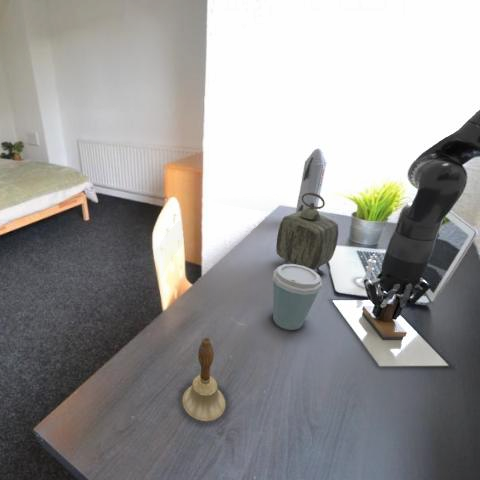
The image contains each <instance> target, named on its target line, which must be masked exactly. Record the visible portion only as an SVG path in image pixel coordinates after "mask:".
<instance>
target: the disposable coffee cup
mask: <svg viewBox="0 0 480 480" xmlns="http://www.w3.org/2000/svg"><path fill="white" fill-rule="evenodd" d="M272 280H273V296H272V297H273V298H272V299H273V300H272V301H273V303H272V304H273V305H272V307H273V308H272V320H273V321H274V323H275V324H276V325H277V326H278V327H280V328H281V329H283V330H288V331H294V330H295V331H296V330H299V329H300V328H301V327H303V325H304V323H305V320H306V318H307V316H308V314H309V312H310V310H311V308H312V307H313V304H314V302H315V300H316V298H317V296H318V294H319V292H320V291H321V290H323V281H322V278H321V275H318V274H317V272H316V271H315V269H314V270H312V269H310V268H307V267H305V266H301V265H296V264H293V263H284V264H282V265H279V266H278V267H276V268H275V269H274V271H273V273H272Z"/></svg>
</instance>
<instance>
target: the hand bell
mask: <svg viewBox="0 0 480 480" xmlns="http://www.w3.org/2000/svg"><path fill="white" fill-rule="evenodd" d="M197 352H198V353H197V355H198V356H197V357H198V363H199V365H200V374H198V375H197V376H195V377H194V379H193V381H192V385H191V386H189V387H188V388H187V389H186V390H185V391H184V393H183V395H182V406H183V408H184V410H185V412H186V413H187V415H189V416H191V417H192V418H193V419H195V420H198V421H201V422H211V421H214V420H217V419H218V418H220V417H221V416H222V415H223V413H224V411H225V409H226V398H225V396H224V394H223V393H222V392H221V390H219V388H218V383H217V381H216V380H215V379H216V378H214V377H213V376H212V375H211V366H212V364H213V361H214V356H215V353H214V352H215V351H214V347H213V345H212V342H211V338H208V337H203V338H202V341H201V343H200V345H199V348H198V351H197Z"/></svg>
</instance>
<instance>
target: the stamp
mask: <svg viewBox="0 0 480 480" xmlns="http://www.w3.org/2000/svg"><path fill="white" fill-rule="evenodd" d="M396 306H397V301H396V300H394V298H392V300H389V301H388V303H387V305H386V306H385V307H386V309H385V311H384V314H383V317H382V319H381V320H378V319H377V318H376V317H375V316H374V315H373V313H372V311H373V308H374V306H363V308H362V311H363V312H362V315H363V316H364V318H365V319H366V320H367V321H368V323H369V324H370V325H371V326H372V328H373V329H374V330H375V331H376V332H377V334H378V335H379V336H380V337H381V339H382V340H403V337H406V334H407V331H406V330H405V329H404V328H403V327H402V326H401V325H400V324H399V323H398V322H397V321H396V320H393V319H392V317H393V314H394V311H395V309H396Z"/></svg>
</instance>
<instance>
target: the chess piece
mask: <svg viewBox="0 0 480 480" xmlns="http://www.w3.org/2000/svg"><path fill="white" fill-rule="evenodd" d="M377 258H378V257H377V256H376V254H375V253H373V254H372V255H371V256H369V259H367V264H368V265H366V266H365V269H366V272H365V274H364V275H363V277H362V278H357V279H356V280H355V283H356V284H357V285H358V286H359V287H361V288H364V289H365V285H364V280H365V279H369V280H371V277H372V276H371V275H372V272H373V271H375V268H374V266H375V265H376V264H377V260H375V259H377Z"/></svg>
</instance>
